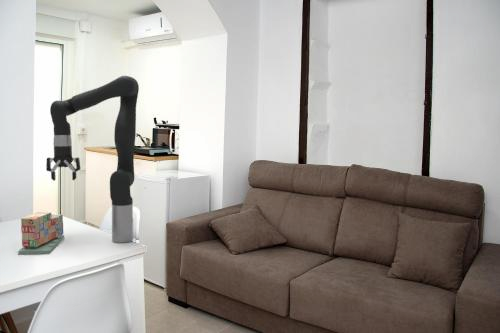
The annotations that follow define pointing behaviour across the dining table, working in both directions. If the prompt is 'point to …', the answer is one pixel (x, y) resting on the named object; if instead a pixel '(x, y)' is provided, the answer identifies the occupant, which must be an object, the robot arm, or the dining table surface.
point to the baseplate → (42, 247)
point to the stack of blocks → (40, 228)
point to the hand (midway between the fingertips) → (63, 180)
